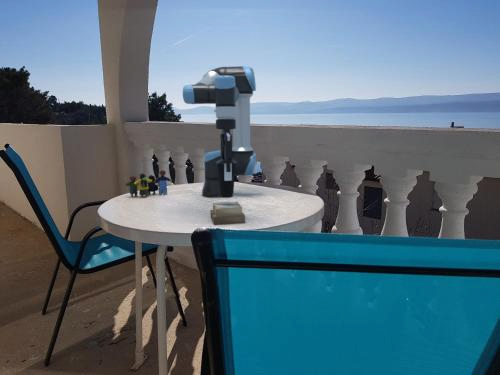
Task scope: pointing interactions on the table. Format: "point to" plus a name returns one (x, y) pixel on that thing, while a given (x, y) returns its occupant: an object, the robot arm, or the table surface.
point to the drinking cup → (225, 186)
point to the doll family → (148, 185)
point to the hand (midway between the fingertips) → (226, 178)
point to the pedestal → (227, 213)
